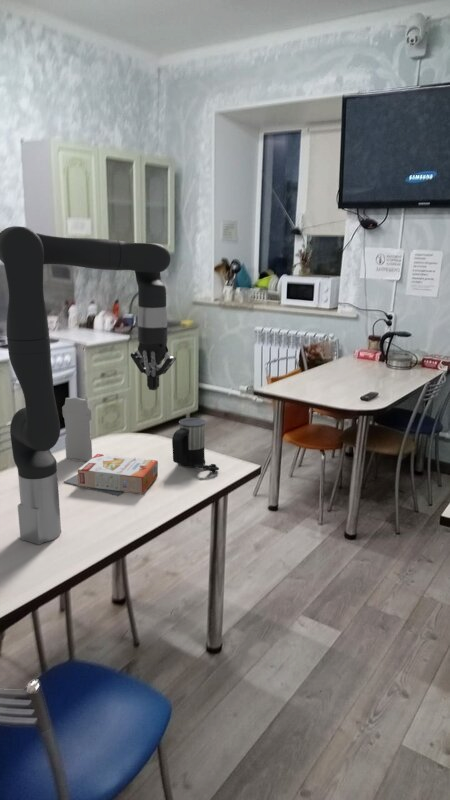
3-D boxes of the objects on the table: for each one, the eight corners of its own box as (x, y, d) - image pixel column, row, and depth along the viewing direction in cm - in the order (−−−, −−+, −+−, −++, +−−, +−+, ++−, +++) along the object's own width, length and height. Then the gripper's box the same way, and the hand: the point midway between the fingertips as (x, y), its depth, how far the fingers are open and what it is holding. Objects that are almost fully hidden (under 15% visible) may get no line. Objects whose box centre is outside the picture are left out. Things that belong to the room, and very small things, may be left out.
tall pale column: (62, 459, 192) (58, 397, 186) (68, 455, 196) (64, 394, 190) (90, 463, 190) (87, 400, 184) (96, 459, 194) (93, 397, 188)
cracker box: (143, 475, 165) (76, 468, 170) (143, 494, 167) (77, 487, 171) (158, 458, 179) (96, 452, 183) (158, 476, 180) (97, 470, 184)
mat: (117, 496, 167) (117, 494, 167) (64, 482, 175) (64, 481, 175) (157, 470, 186) (157, 468, 186) (107, 458, 194) (107, 457, 194)
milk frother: (184, 456, 198) (184, 415, 194) (227, 462, 194) (228, 421, 190) (168, 471, 185) (168, 428, 181) (214, 478, 181) (215, 434, 177)
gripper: (122, 323, 144) (124, 389, 149) (167, 328, 139) (167, 396, 144) (138, 320, 151) (140, 383, 156) (182, 324, 146) (182, 389, 150)
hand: (153, 389), depth 150 cm, fingers closed
